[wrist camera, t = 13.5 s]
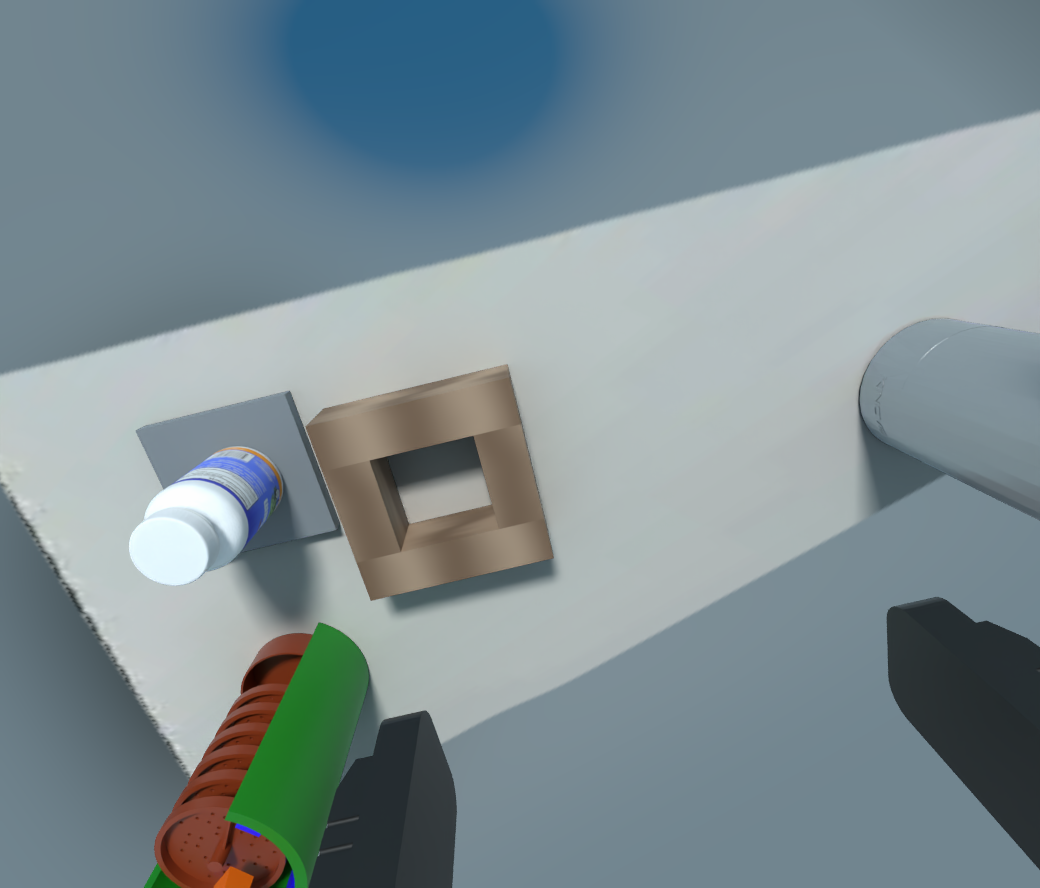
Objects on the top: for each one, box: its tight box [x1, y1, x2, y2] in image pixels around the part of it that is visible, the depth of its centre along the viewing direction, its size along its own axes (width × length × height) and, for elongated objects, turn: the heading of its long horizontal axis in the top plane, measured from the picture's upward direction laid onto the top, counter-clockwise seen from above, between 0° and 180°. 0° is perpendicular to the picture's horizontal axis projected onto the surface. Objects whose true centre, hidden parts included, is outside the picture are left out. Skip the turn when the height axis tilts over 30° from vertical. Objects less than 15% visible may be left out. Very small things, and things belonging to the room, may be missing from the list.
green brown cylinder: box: [144, 623, 369, 888], centre depth 36 cm, size 10×9×20 cm
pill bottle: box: [129, 446, 283, 586], centre depth 34 cm, size 5×5×10 cm
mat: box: [136, 391, 340, 553], centre depth 39 cm, size 10×10×1 cm
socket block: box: [306, 365, 554, 601], centre depth 39 cm, size 13×13×4 cm
